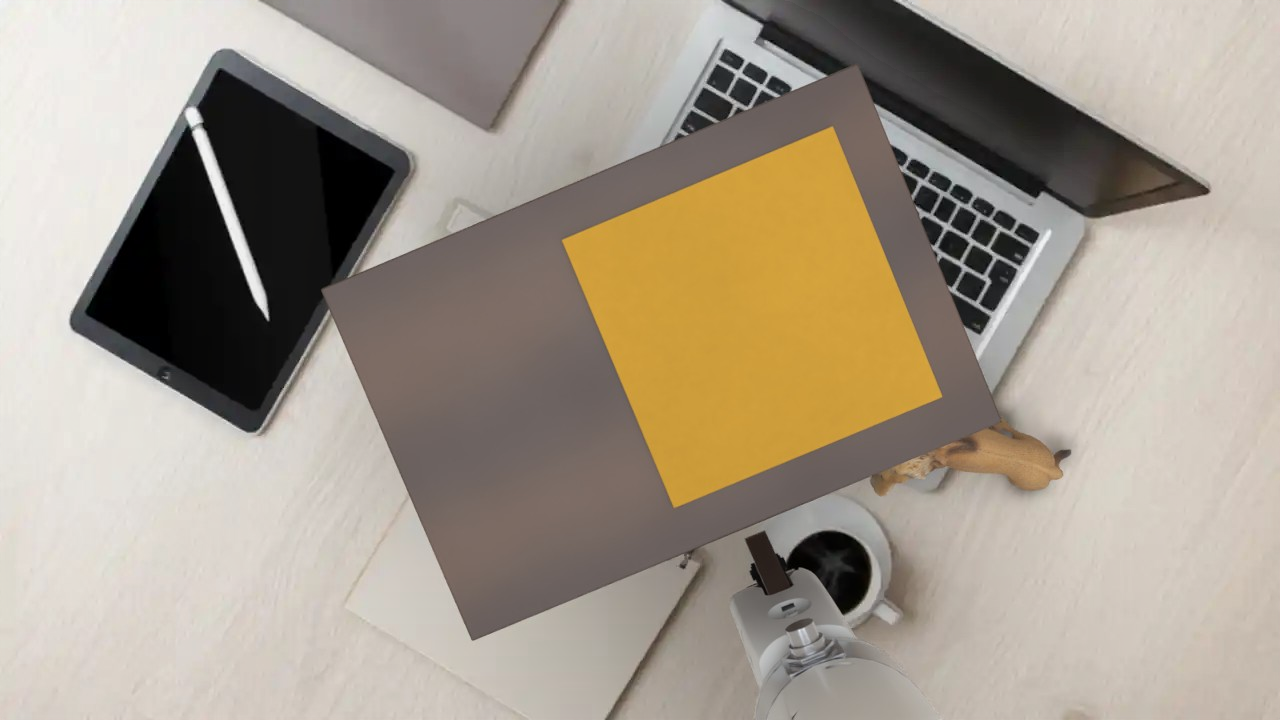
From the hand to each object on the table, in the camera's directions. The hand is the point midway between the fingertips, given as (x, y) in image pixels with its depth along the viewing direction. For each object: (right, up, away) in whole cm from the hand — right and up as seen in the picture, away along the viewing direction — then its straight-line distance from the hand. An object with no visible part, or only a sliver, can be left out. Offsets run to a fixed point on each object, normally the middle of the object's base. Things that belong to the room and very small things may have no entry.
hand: (790, 626), depth 66 cm
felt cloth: (-4, +18, -20) cm, 27 cm away
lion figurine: (+11, +10, +6) cm, 16 cm away
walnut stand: (-8, +17, +6) cm, 20 cm away
